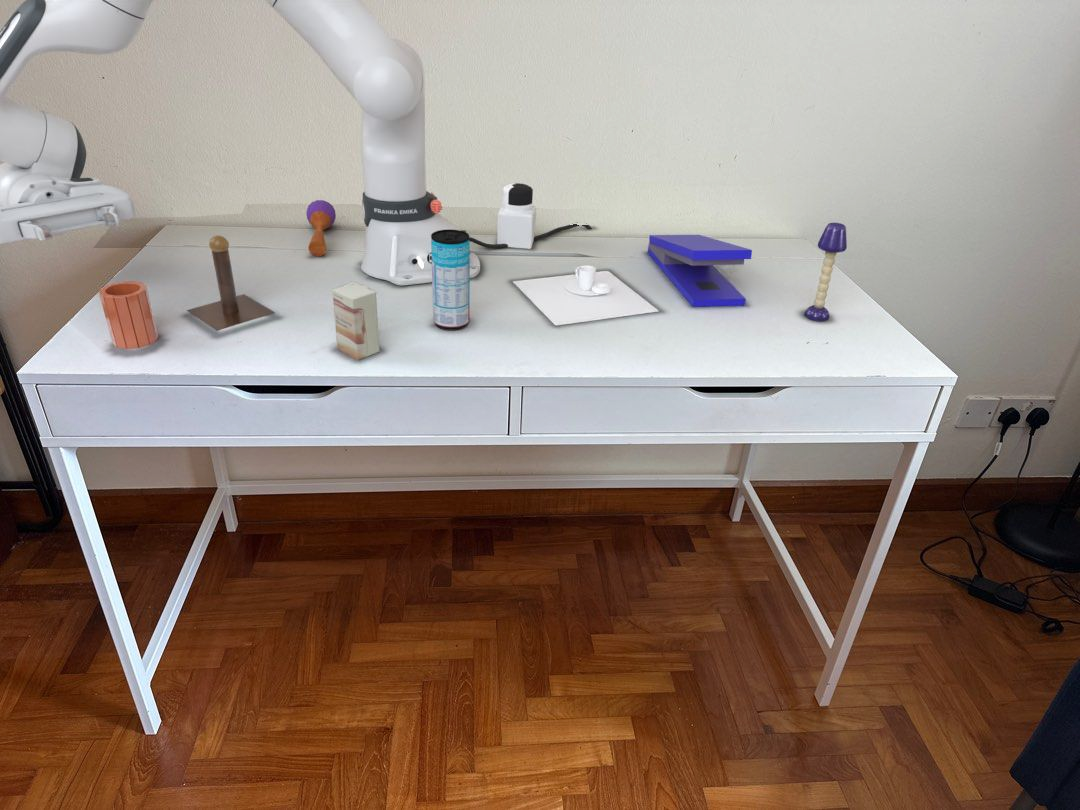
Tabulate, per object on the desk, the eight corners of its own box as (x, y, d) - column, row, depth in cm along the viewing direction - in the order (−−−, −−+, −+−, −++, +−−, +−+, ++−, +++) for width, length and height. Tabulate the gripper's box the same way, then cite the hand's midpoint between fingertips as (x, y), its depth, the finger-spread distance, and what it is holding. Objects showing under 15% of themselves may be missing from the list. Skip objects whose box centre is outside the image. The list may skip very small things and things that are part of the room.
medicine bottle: (534, 238, 162) (537, 182, 156) (531, 249, 156) (533, 191, 150) (501, 235, 163) (503, 179, 157) (497, 246, 157) (498, 189, 151)
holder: (244, 299, 129) (231, 221, 122) (276, 318, 123) (264, 237, 116) (187, 315, 122) (170, 234, 115) (217, 336, 117) (201, 252, 110)
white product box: (336, 350, 115) (329, 288, 109) (359, 341, 118) (354, 280, 112) (358, 361, 112) (352, 298, 107) (381, 352, 115) (377, 290, 110)
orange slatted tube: (148, 332, 117) (135, 277, 112) (166, 345, 113) (153, 289, 109) (107, 344, 113) (92, 288, 108) (125, 358, 109) (109, 301, 105)
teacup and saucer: (617, 296, 137) (619, 275, 135) (577, 301, 134) (579, 280, 132) (595, 279, 144) (597, 258, 142) (557, 283, 141) (559, 262, 139)
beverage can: (473, 318, 127) (474, 231, 119) (463, 333, 122) (463, 243, 114) (439, 314, 127) (437, 227, 120) (428, 328, 122) (425, 239, 115)
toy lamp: (813, 323, 132) (838, 230, 123) (794, 313, 135) (817, 221, 126) (833, 319, 134) (859, 227, 125) (814, 309, 137) (837, 219, 128)
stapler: (689, 306, 135) (698, 254, 130) (643, 252, 158) (649, 205, 153) (749, 305, 137) (760, 253, 132) (695, 251, 160) (703, 205, 155)
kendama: (297, 237, 144) (303, 198, 160) (306, 265, 148) (312, 224, 164) (328, 231, 145) (331, 193, 161) (337, 259, 149) (339, 219, 164)
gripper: (-37, 198, 112) (-7, 221, 104) (107, 175, 125) (144, 194, 117) (-23, 239, 115) (8, 265, 107) (117, 213, 128) (153, 233, 120)
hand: (80, 227), depth 112 cm, fingers open, 8 cm apart
